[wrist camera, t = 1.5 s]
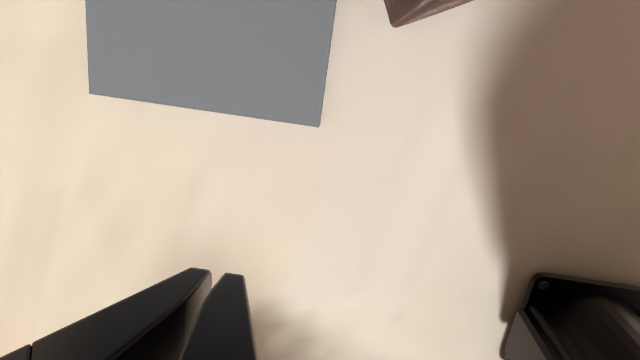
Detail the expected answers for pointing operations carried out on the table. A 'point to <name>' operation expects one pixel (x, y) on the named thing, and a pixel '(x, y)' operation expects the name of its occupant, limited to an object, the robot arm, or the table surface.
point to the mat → (214, 54)
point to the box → (417, 9)
